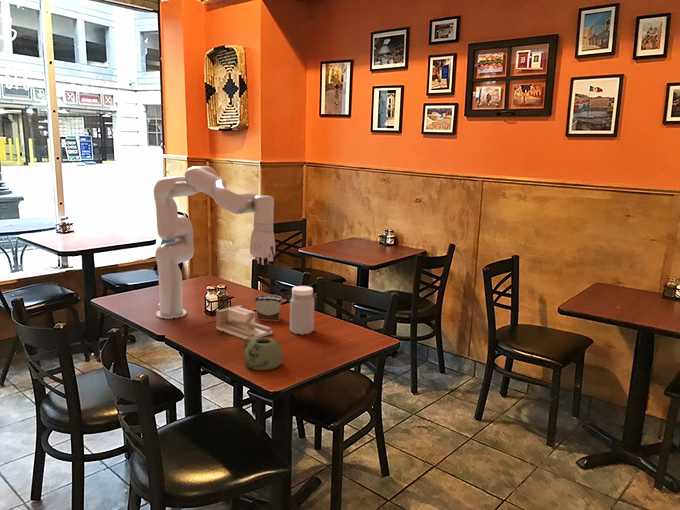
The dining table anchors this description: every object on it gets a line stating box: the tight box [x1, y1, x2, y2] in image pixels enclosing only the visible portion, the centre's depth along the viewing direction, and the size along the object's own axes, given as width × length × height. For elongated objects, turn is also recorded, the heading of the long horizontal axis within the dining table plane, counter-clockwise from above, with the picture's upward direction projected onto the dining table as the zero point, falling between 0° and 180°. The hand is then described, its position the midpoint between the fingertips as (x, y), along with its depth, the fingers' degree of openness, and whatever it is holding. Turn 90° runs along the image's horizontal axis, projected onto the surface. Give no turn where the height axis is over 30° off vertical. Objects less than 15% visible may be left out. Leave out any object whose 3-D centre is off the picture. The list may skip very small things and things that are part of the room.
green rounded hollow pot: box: [243, 337, 283, 371], centre depth 182 cm, size 16×13×9 cm
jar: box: [289, 285, 315, 336], centre depth 215 cm, size 10×10×18 cm
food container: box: [253, 293, 284, 322], centre depth 232 cm, size 12×6×10 cm, turn 84°
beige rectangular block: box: [227, 306, 256, 331], centre depth 216 cm, size 5×11×7 cm, turn 50°
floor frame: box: [215, 304, 273, 340], centre depth 215 cm, size 20×12×8 cm, turn 50°
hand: (262, 273), depth 211 cm, fingers closed
